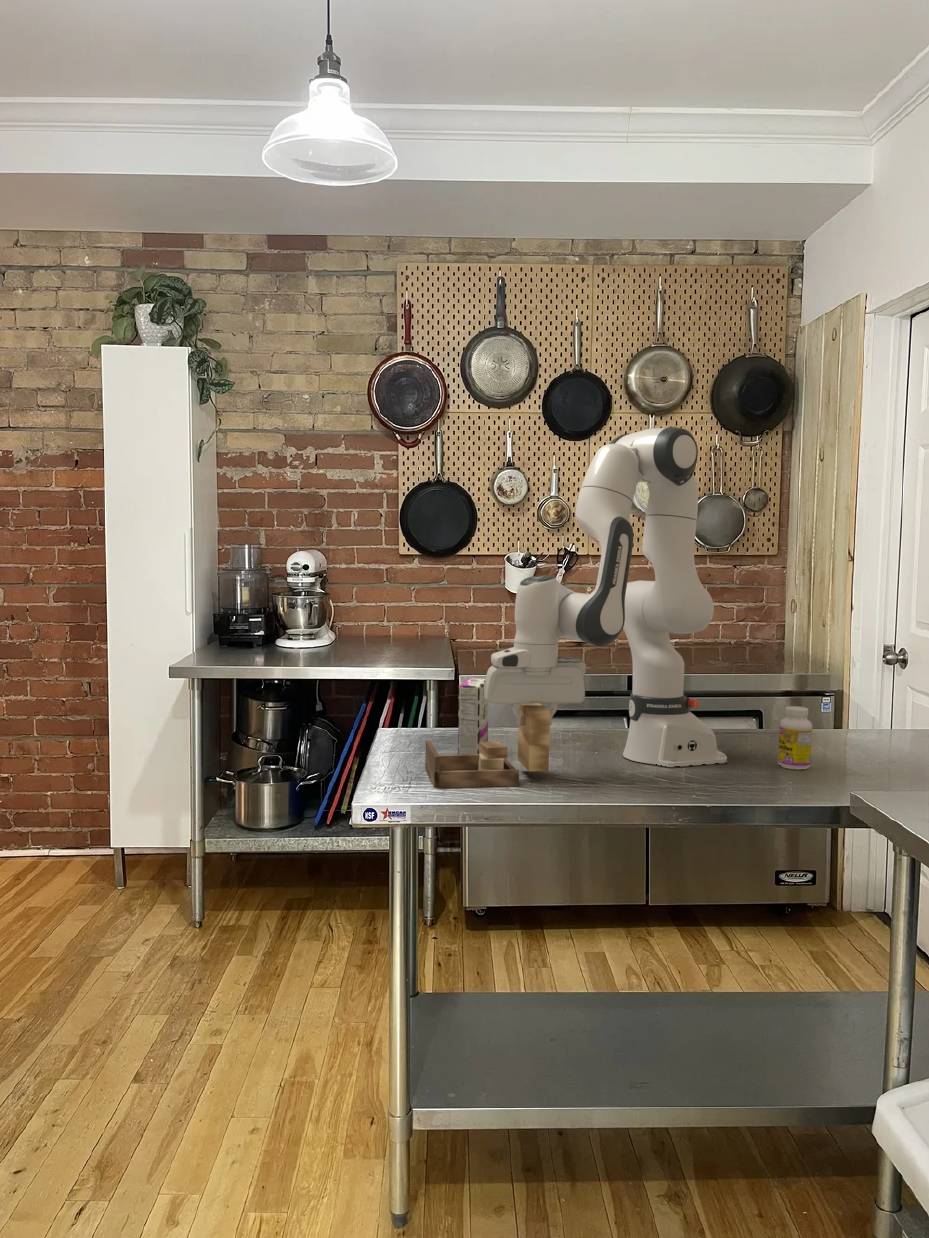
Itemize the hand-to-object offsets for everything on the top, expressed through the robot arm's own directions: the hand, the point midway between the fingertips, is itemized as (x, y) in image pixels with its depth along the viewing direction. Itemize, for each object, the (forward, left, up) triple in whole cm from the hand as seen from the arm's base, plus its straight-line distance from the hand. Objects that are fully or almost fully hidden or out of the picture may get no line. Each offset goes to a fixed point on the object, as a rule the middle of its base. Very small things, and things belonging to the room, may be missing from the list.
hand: (533, 725), depth 191 cm
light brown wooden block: (0, 0, -8) cm, 8 cm away
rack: (+13, 0, -10) cm, 17 cm away
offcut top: (+8, -1, -6) cm, 10 cm away
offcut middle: (+8, 0, -9) cm, 12 cm away
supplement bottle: (-58, -3, -11) cm, 59 cm away
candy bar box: (+9, -20, -11) cm, 24 cm away
